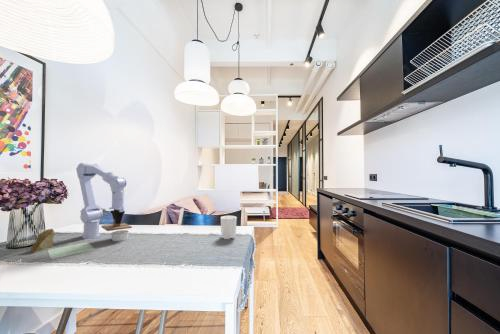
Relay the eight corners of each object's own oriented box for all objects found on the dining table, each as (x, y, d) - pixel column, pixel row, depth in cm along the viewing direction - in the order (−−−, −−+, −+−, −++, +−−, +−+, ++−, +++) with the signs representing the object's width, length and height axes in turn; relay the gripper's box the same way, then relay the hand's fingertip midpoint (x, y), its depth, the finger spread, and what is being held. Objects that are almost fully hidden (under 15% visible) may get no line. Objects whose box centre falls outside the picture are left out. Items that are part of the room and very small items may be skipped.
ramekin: (108, 242, 118) (108, 234, 118) (114, 237, 126) (114, 230, 126) (126, 241, 120) (126, 233, 120) (130, 236, 129) (130, 229, 129)
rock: (33, 250, 99) (59, 241, 108) (26, 235, 100) (52, 227, 109) (27, 260, 103) (53, 251, 112) (20, 245, 105) (46, 237, 114)
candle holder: (217, 238, 125) (217, 218, 126) (224, 234, 135) (224, 215, 135) (233, 240, 123) (233, 219, 123) (238, 235, 132) (239, 216, 132)
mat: (47, 250, 105) (47, 249, 105) (87, 242, 117) (87, 242, 117) (51, 259, 94) (51, 259, 94) (94, 250, 106) (94, 249, 106)
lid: (101, 227, 121) (101, 218, 122) (124, 224, 130) (125, 216, 130) (107, 231, 113) (107, 221, 114) (131, 227, 122) (132, 219, 122)
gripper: (106, 198, 124) (105, 222, 124) (113, 201, 115) (113, 226, 114) (119, 197, 130) (119, 220, 129) (128, 199, 120) (127, 224, 119)
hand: (117, 223), depth 122 cm, fingers closed on lid, 3 cm apart
